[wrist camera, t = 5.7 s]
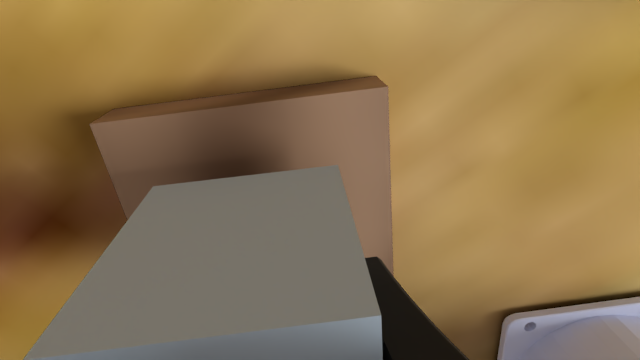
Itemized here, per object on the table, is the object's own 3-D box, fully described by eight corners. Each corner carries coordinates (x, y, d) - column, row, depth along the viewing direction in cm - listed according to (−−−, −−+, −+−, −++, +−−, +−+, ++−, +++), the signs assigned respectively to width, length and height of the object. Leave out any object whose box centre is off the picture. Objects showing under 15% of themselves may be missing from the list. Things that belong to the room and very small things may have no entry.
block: (338, 164, 9) (381, 315, 5) (349, 303, 11) (388, 502, 7) (153, 186, 9) (22, 360, 5) (196, 323, 11) (134, 536, 7)
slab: (373, 73, 12) (388, 86, 10) (381, 271, 15) (394, 307, 14) (120, 104, 12) (89, 124, 10) (187, 297, 15) (173, 337, 13)
